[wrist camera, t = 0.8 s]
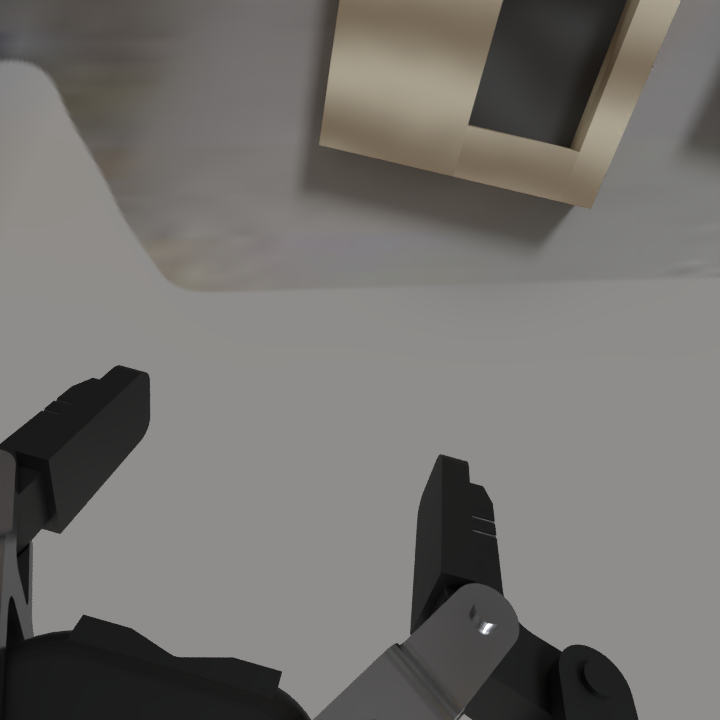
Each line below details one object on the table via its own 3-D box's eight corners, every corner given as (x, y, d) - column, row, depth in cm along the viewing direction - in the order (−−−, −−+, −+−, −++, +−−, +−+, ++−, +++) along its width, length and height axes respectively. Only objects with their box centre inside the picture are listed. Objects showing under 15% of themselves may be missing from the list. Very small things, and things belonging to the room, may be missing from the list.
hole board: (376, -176, 26) (368, -206, 23) (706, -106, 25) (737, -130, 23) (328, 141, 34) (318, 144, 31) (579, 200, 33) (590, 208, 31)
